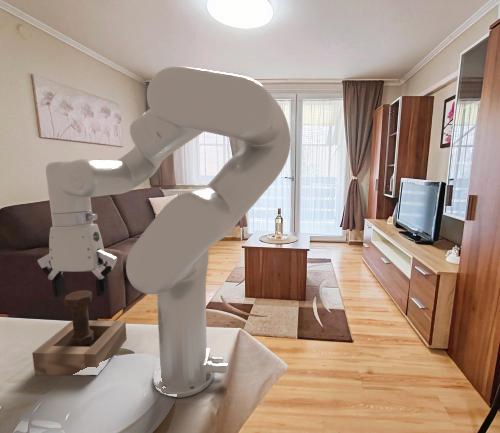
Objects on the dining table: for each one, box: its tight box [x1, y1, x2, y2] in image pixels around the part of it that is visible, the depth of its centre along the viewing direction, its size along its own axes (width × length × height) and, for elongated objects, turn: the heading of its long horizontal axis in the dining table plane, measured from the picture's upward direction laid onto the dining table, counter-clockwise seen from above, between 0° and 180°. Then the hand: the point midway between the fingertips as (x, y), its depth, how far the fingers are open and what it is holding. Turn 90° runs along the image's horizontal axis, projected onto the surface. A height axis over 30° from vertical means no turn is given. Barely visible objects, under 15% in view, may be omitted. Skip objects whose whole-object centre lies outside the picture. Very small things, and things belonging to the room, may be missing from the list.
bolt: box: [63, 289, 94, 347], centre depth 67 cm, size 6×5×15 cm
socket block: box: [31, 319, 127, 376], centre depth 67 cm, size 14×14×5 cm
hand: (81, 294), depth 65 cm, fingers open, 9 cm apart
